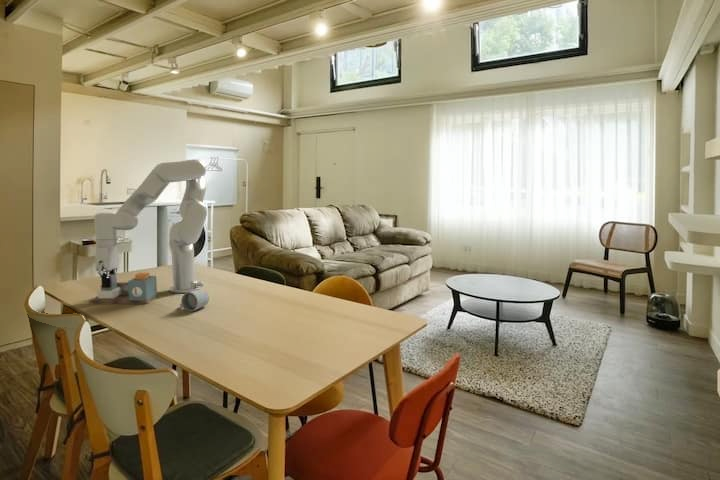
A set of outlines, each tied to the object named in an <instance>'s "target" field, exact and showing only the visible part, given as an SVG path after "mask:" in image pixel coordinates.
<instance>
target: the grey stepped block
mask: <svg viewBox="0 0 720 480" xmlns="http://www.w3.org/2000/svg"><path fill="white" fill-rule="evenodd" d="M109 278H110V285H111V287H110V288H102V290H101V289H99V290H97V296H98V298H115V297H117V296H119V295H121V294H122V290H121V287H117V282H118V281H117V275H116V274H109ZM100 279H101V278H100ZM101 281H102V279H101Z"/></svg>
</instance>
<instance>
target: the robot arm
mask: <svg viewBox="0 0 720 480" xmlns="http://www.w3.org/2000/svg"><path fill="white" fill-rule="evenodd" d="M206 172H207V168H206V164H205V163H204V162H203V161H201V160H200V159H186V160H181V161H169V162H168V161H167V162H160V163H158V164H156V165H155V166H154V167H153V169H152V170H151V171H150V172H149V174H148V175H147V176H146V178H145V179H144V180H143V181H142V183H140V185H139V186H138V188H137V189H136V190H134V191H133V192H132V194H131V195H130V196H129V197H127V199H126V200H125V201H124V202H123V203H122V205H121V206H120V207H119V208H118V210H117V211H116V212H115V213H112V212H98V213H95V215H94V218H93V219H94V231H95V235H94V236H95V254H94V255H95V256H94V261H95V263H94V265H95V271H96V272H97V274H98V275H99V277H100V279H102V280H101V285H102V288H110V287H111V285H110V278H109V274H116V276H117V274H118V273H117V272H118V268H119V265H120V259H119V252H118V251H119V249H118V233H117V232H118V231H132V230H134V229H135V228H136V227H137V226H138V224H139V220H138V215H140V213H141V212H142V211H143V210H144V209H146V207H148V206H149V205H152V204H153V203H155V202H156V200H158V198H159V197H160V196H161V194H163V192H164V191H165V189H166V188H167V187H168V186H169V184H170V183H180V182H184V181H185V185H186V186H185V189H184V193H183V197H182V200H181V202H180V205H179V208H178V213H179V215H180V217H181V218H182V219H181V221H177V222H175V223H174V224H172V225H171V227H170V229H169V241H170V246H171V247H170V248H171V262H172V263H171V264H172V265H171V266H172V267H171V269H172V286H171V287H170V288H169V292H170V293H176V294H183V293H184V294H185V293H187V292H191V291H195V290H200V288H201V287H205V283H204V281H198V279H197V278H196V274H195V273H196V271H195V248H194V244H196V243H197V242H198V240H199V238H200V237H201V235H202V231H203V228H204V225H205V222H206V219H207V216H208V214H207V213H208V209H207V206H206V205H205V204H204V202H203V201H204V199H205V195H206V190H207V189H206V188H207V187H206V186H207V184H206V179H205V177H204V176H205V174H206ZM117 230H118V231H117Z"/></svg>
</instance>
